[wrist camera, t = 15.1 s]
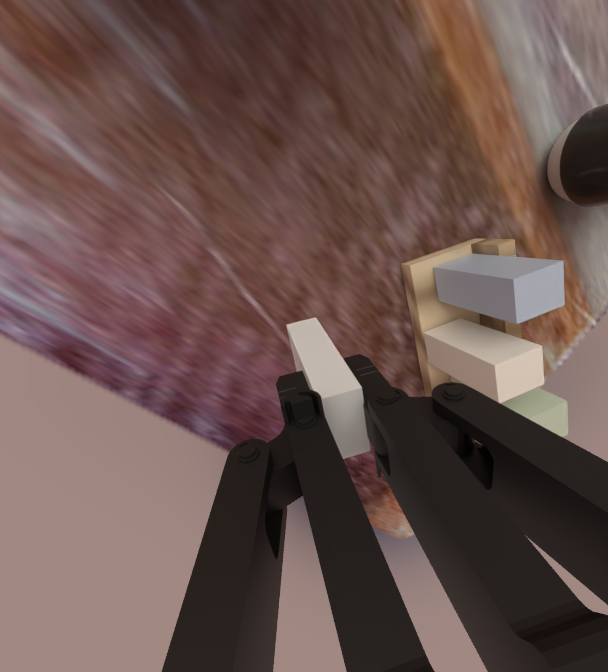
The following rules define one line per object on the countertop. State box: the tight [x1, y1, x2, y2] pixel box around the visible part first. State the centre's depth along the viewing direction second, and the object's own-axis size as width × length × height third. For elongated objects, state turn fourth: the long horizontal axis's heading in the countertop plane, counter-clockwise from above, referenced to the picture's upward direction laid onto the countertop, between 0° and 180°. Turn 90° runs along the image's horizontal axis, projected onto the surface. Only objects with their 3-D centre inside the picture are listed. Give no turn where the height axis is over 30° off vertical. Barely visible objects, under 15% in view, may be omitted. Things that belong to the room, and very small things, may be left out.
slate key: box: [434, 254, 565, 324], centre depth 35 cm, size 4×5×11 cm
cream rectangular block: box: [423, 318, 544, 403], centre depth 37 cm, size 4×5×11 cm
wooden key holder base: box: [401, 239, 522, 397], centre depth 42 cm, size 20×10×6 cm, turn 17°
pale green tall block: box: [451, 376, 568, 437], centre depth 40 cm, size 4×5×11 cm
